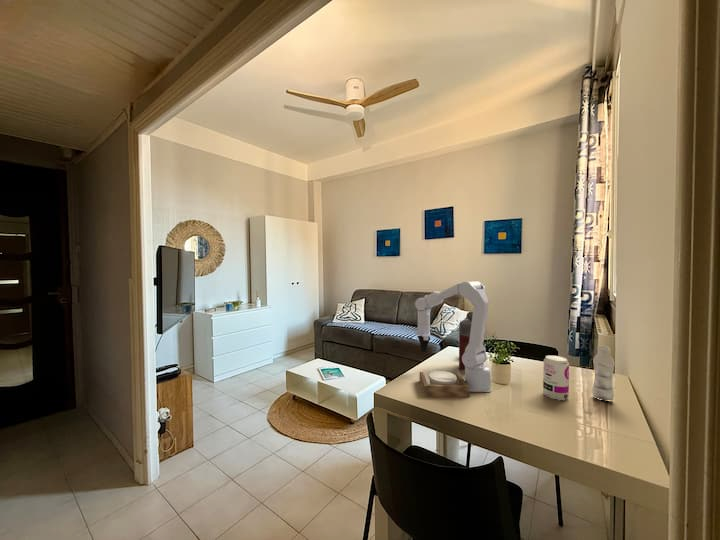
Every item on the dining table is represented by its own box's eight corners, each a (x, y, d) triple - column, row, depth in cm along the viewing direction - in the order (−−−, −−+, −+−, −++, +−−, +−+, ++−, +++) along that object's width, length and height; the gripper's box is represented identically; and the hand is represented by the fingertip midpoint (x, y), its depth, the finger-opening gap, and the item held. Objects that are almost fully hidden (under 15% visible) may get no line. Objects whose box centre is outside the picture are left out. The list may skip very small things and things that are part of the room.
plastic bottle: (610, 397, 115) (611, 346, 114) (616, 405, 109) (618, 351, 108) (589, 394, 118) (591, 344, 117) (594, 402, 112) (596, 348, 111)
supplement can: (570, 396, 117) (570, 357, 116) (566, 403, 111) (567, 363, 110) (545, 389, 122) (546, 353, 122) (540, 396, 116) (541, 358, 116)
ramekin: (440, 396, 117) (440, 383, 117) (423, 385, 127) (423, 373, 127) (462, 391, 121) (462, 378, 121) (444, 381, 132) (444, 369, 131)
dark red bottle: (484, 366, 149) (485, 310, 148) (477, 373, 140) (478, 313, 139) (466, 363, 154) (466, 308, 153) (458, 369, 145) (459, 311, 144)
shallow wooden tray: (459, 381, 130) (459, 372, 130) (469, 397, 116) (469, 386, 116) (419, 380, 132) (419, 371, 131) (424, 396, 117) (424, 385, 117)
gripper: (413, 319, 150) (413, 346, 150) (417, 326, 135) (417, 356, 136) (427, 320, 149) (427, 347, 150) (433, 326, 135) (432, 356, 136)
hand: (423, 351), depth 143 cm, fingers closed
